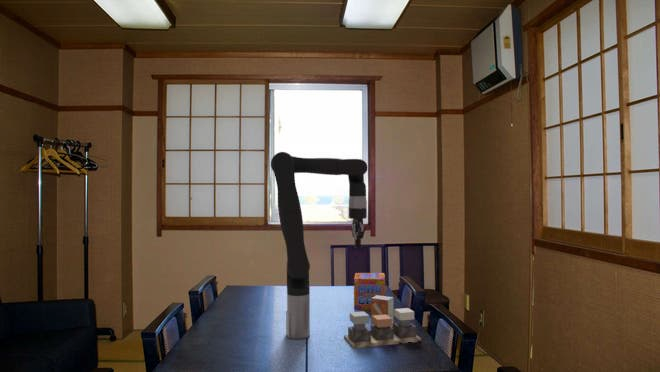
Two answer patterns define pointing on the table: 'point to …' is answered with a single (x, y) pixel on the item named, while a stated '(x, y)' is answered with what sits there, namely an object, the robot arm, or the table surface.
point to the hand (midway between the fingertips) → (357, 248)
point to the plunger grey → (359, 320)
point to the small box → (382, 306)
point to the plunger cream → (404, 316)
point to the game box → (367, 289)
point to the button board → (381, 336)
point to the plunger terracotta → (382, 321)
